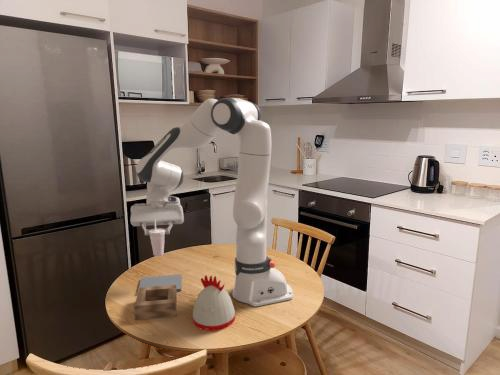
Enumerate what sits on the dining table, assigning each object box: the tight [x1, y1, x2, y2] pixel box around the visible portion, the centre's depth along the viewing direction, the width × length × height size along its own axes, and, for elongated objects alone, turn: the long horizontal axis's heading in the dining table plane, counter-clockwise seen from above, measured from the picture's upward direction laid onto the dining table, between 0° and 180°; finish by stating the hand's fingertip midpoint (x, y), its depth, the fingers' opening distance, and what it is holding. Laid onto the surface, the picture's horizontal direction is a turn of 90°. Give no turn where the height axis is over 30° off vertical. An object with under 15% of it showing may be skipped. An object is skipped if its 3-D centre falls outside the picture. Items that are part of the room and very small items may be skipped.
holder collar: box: [133, 285, 178, 321], centre depth 127 cm, size 13×13×5 cm
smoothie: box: [149, 219, 166, 257], centre depth 140 cm, size 6×6×14 cm
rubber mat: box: [136, 273, 182, 295], centre depth 144 cm, size 16×13×1 cm
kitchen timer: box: [192, 275, 236, 332], centre depth 119 cm, size 14×14×15 cm
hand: (157, 234), depth 139 cm, fingers closed on smoothie, 6 cm apart
